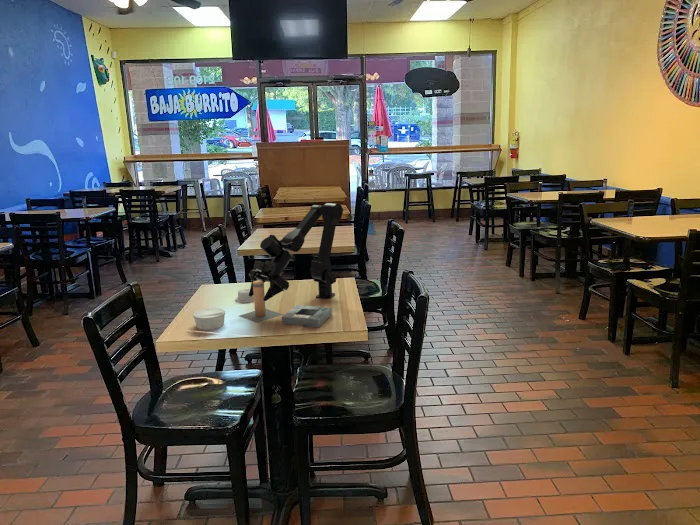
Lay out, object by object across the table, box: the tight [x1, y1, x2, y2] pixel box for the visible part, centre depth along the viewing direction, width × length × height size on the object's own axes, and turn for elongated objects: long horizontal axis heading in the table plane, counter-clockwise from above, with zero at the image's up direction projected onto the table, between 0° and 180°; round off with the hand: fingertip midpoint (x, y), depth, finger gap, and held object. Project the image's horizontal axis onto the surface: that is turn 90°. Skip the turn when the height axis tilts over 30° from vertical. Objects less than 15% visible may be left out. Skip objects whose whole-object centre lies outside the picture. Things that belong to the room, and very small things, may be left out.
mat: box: [238, 308, 284, 324], centre depth 201 cm, size 12×12×1 cm
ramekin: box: [192, 307, 226, 331], centre depth 191 cm, size 11×11×5 cm
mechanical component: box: [235, 288, 254, 304], centre depth 222 cm, size 10×4×10 cm
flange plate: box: [281, 304, 333, 329], centre depth 195 cm, size 14×14×3 cm
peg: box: [253, 280, 267, 317], centre depth 200 cm, size 4×4×13 cm
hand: (256, 298), depth 199 cm, fingers open, 9 cm apart
